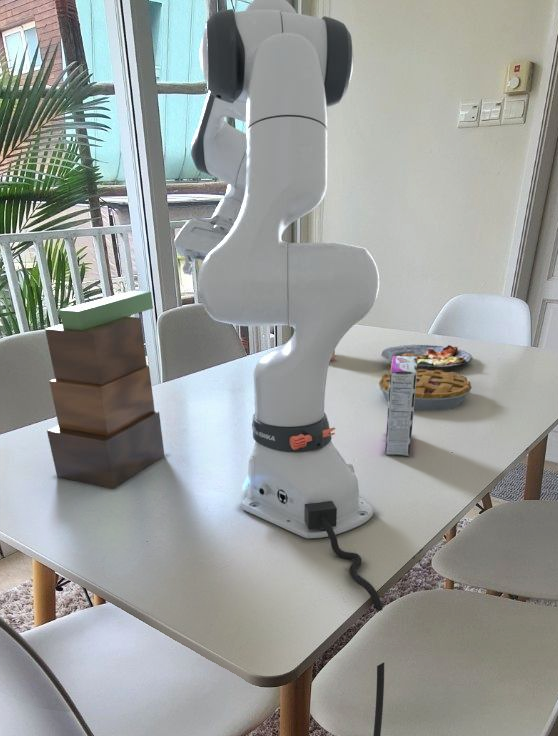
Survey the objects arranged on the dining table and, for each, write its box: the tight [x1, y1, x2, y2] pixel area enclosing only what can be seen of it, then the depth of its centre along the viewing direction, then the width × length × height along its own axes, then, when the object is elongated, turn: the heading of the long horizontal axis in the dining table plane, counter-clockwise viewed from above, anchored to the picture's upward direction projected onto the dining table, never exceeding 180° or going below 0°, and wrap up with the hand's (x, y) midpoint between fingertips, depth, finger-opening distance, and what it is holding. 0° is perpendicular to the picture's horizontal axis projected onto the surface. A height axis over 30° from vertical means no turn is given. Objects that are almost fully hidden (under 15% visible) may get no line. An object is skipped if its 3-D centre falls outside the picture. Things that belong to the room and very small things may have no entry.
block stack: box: [44, 316, 165, 489], centre depth 111 cm, size 16×13×26 cm
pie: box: [377, 368, 473, 411], centre depth 148 cm, size 22×22×5 cm
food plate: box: [381, 344, 473, 369], centre depth 175 cm, size 25×23×4 cm
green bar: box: [59, 290, 154, 331], centre depth 108 cm, size 20×4×3 cm, turn 155°
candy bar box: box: [384, 356, 418, 457], centre depth 119 cm, size 11×5×16 cm, turn 168°
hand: (205, 277), depth 132 cm, fingers open, 8 cm apart
